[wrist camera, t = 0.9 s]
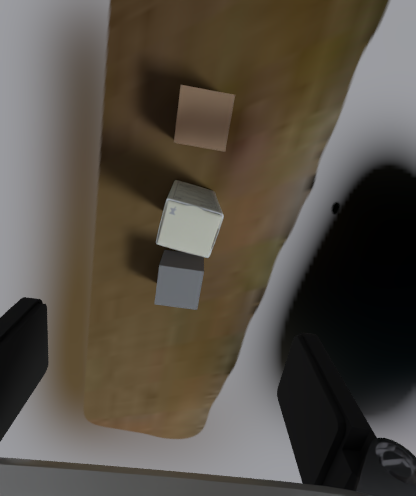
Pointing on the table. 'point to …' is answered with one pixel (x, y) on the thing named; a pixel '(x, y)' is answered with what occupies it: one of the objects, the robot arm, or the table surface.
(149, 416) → the table surface
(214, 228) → the box
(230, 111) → the tan cube
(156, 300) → the grey cube
